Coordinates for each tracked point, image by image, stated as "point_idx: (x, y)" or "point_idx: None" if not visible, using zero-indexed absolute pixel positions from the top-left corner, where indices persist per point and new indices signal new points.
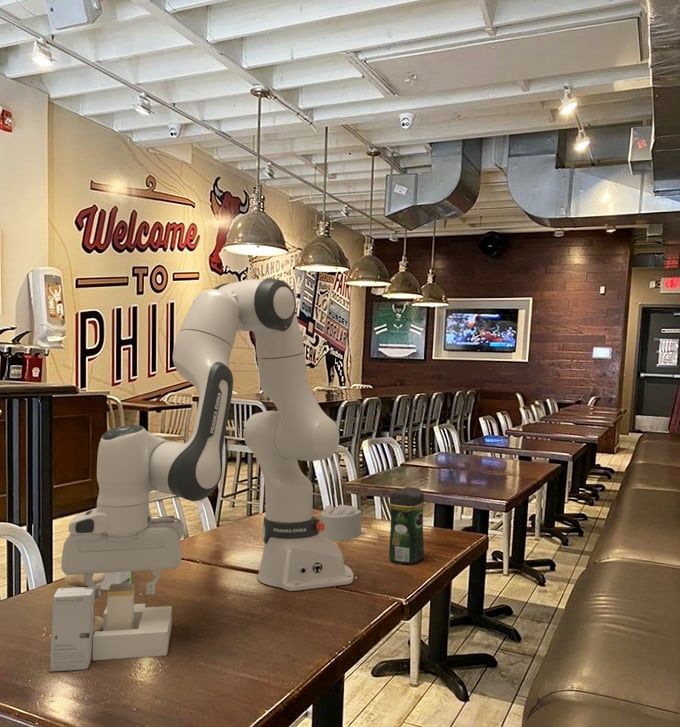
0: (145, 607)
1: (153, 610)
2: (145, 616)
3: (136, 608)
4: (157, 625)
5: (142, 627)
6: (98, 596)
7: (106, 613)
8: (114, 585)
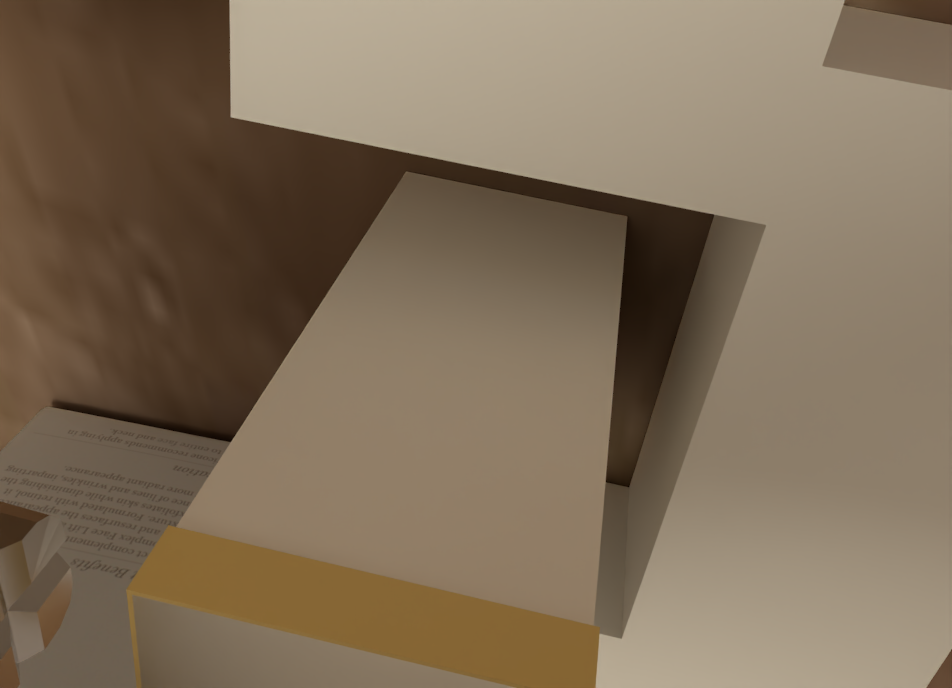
0: (840, 69)
1: (921, 235)
2: (758, 393)
3: (693, 69)
4: (824, 641)
5: (667, 628)
6: (55, 628)
7: (270, 121)
8: (207, 668)
